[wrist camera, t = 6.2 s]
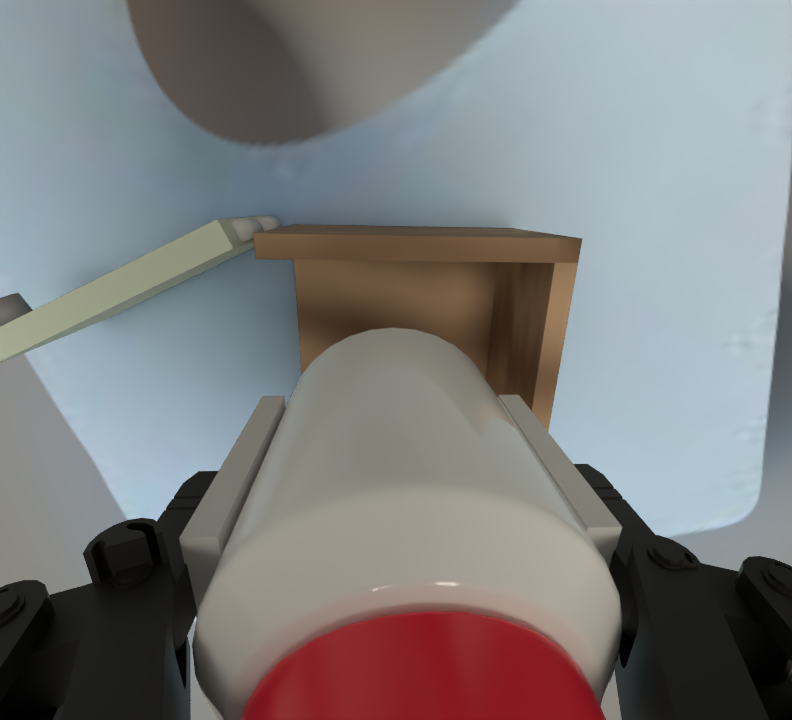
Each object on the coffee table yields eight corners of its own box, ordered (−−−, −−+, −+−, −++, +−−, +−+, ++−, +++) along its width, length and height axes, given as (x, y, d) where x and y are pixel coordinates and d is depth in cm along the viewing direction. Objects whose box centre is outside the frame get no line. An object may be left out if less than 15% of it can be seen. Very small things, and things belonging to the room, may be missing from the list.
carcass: (294, 224, 24) (252, 233, 16) (512, 228, 25) (582, 238, 17) (307, 413, 29) (280, 498, 21) (490, 412, 30) (537, 492, 21)
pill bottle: (455, 291, 13) (727, 568, 3) (517, 468, 16) (774, 931, 6) (248, 376, 14) (-91, 834, 4) (341, 532, 17) (291, 1049, 6)
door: (268, 191, 23) (211, 182, 15) (288, 230, 24) (245, 242, 16) (78, 285, 25) (-68, 324, 17) (103, 319, 26) (-24, 373, 17)
